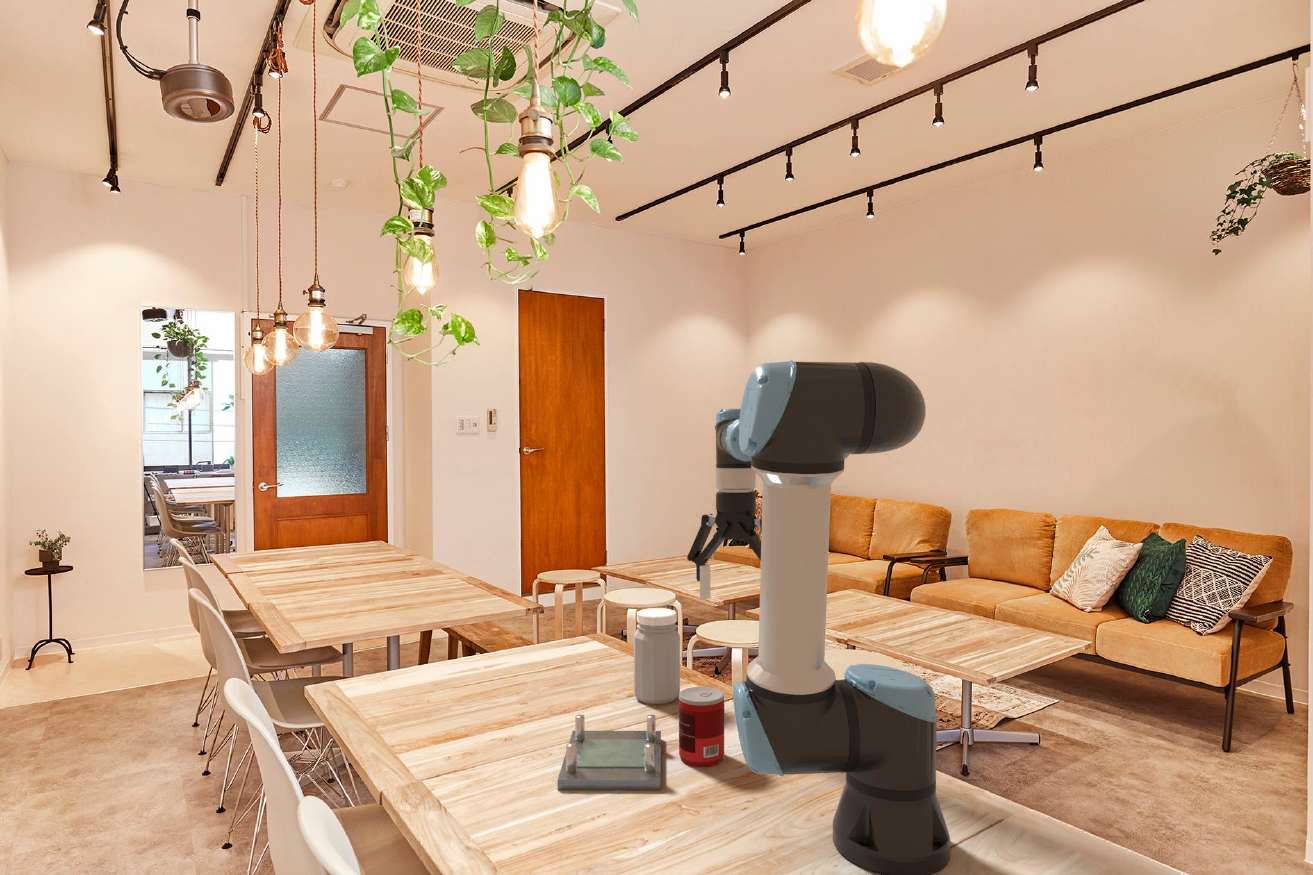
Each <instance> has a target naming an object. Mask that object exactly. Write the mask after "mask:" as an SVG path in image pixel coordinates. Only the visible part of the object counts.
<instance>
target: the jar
mask: <svg viewBox="0 0 1313 875" xmlns="http://www.w3.org/2000/svg"><path fill="white" fill-rule="evenodd" d="M677 614H678V613H677V612H676V610H673V609H670V608H664V607H649V608H643V609H640V610H638V611H636V622H637V623H638V624H637V625H636V627H637V628H636V630H635V632H634V633H633V694H634V696H635V698H636V699H637V700H638V701H639V702H641V703H643V704H649V705H666V704H669V703H673V702H674V701H675V700H676V699H677V698H679V693H680V692H681V661H680V660H681V636H680V634H679V632H678V631H677V630H676V629H677V628H678V626H677V624H676V623H677Z"/></svg>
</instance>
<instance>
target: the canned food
mask: <svg viewBox="0 0 1313 875" xmlns="http://www.w3.org/2000/svg"><path fill="white" fill-rule="evenodd" d="M678 755H679V758H680V760H681V761H682V763H684V764H685V765H689V766H692V767H697V768H699V767H700V768H705V767H706V768H707V767H711V766H715V765H716V766H717V765H718V764H719V763H721V762H722V761H723V759H724V755H725V694H724V691H722V690H720V689H718V688H715V687H710V686H693V687H687V688H685V689H682V690H680V693H679V695H678Z"/></svg>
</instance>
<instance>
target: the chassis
mask: <svg viewBox="0 0 1313 875" xmlns="http://www.w3.org/2000/svg"><path fill="white" fill-rule="evenodd" d="M574 717H575V720H574V721H575V730H572V732H571V736H570V739H569V743H567V744H566V745H565V747H566V748H565V749H566V750H565V754H564V758H563V761H562V763H561V767H560V770H559V773H558V774H559V775H558V777H557V790H559V791H560V790H561V791H562V790H563V791H564V790H565V791H566V790H567V791H573V790H574V791H575V790H576V791H584V790H585V791H586V790H587V791H593V790H595V791H596V790H598V791H616V790H617V791H661V769H662V768H661V767H662V766H661V765H662V764H661V759H662V758H661V756H662V730H657V728H656V727H657V725H656V724H657V716H656V715H655V714H647V715H646V730H585V715H584V714H576V715H575V716H574Z"/></svg>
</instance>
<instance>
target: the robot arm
mask: <svg viewBox="0 0 1313 875" xmlns="http://www.w3.org/2000/svg"><path fill="white" fill-rule="evenodd" d="M925 402H926V401H925V398H924V396H923V394H922V391H921V389H920V388H919V386H918V385H917V384H916V383H915V381H914V380H912V379H911V377H909V376H908V375H907V374H906V373H903V372H902V371H900V370H899V369H897V368H895V367H892V366H890V365H887V364H883V363H879V362H878V363H877V362H872V361H860V362H847V361H843V362H842V361H839V362H838V361H794V360H789V361H776V362H765V363H762V364H759V365H758V366H756V368H754V369H753V370H752V371H751V373H750V375H749V377H748V379H747V382H746V384H745V388H744V392H743V395H742V401H741V404H740V408H725V409H724V408H723V409H722V408H721V409H718V410H717V412H716V414H715V425H714V430H715V456H716V457H715V459H716V460H715V462H716V464H715V488H716V489H717V490H718V491H717V492H716V493H715V510H716V515H714V514H713V513H708V514H707V513H706V514H703V515H701V519H700V520H701V521H700V526H699V529H698V531H697V533H696V535H695V539H694V540H693V543H692V545H691V546H690V550H689V552H688V554H687V557H686V558H687V561H689V562H692V563H694V564H695V566H696V567H695V568H696V569H695V570H696V574H695V575H696V576H695V577H696V581H697V582H699V601H704V600H708V599H711V564H710V563H709V560H710V558H711V557H712V555H714V553H715V552H716V551H717V550H718V548H719V547H720V546H721V544H722V543H724V541H725V540H727V541H731V540H734V541H739V542H740V541H744V542H745V543H746V544H748V545H749V547H750V548H751V550H752V551H753V553H754V554H755V555H756V557H757V558H758V559H759V560H760V576H759V577H760V579H759V580H760V582H759V587H760V588H759V613H758V614H759V617H758V618H759V619H758V621H759V622H758V654H757V655H758V656H756V657H755V658H754V659H753V660H751V661H750V662H749V663H748V664H747V666H746V673H745V674H746V675H745V676H746V677H745V679H746V680H745V681H744V680H739V681H737V682H735V683H734V684H733V691H732V698H733V699H732V700H733V709H734V716H735V722H736V727H737V729H736V730H737V733H738V739H739V743H740V748H741V752H742V755H743V756H742V757H743V759H744V761H745V764H746V766H747V767H748V769H749V770H750V771H751V772H752V773H755V774H757V775H776V776H777V775H778V776H779V777H784V776H785V775H805V774H806V775H809V774H811V775H812V774H815V775H816V774H839V773H845V784H844V786H843V789H842V792H841V795H840V798H839V801H838V803H837V804H838V805H837V808H836V810H835V813H834V817H833V820H832V843H833V845H834V847H835V849H836V850H837V851H838V853H840V854H841V855H842V856H843V857H844V858H845V859H847V860H848V861H850V862H852V863H853V864H855V865H858V866H859V867H860V868H864V869H865V870H866V869H867V870H869V871H872V872H876V873H878V874H885V875H930V874H931V875H932V874H933V873H937V871H940V870H942V869H943V868H945V867H947V865H948V863H949V861H950V860H951V837H950V832H949V830H948V826H947V823H946V821H945V818H944V814H943V812H942V808H941V804H940V801H939V798H938V796H937V723H938V720H939V718H938V715H937V707H936V694H935V691H934V689H933V688H932V686H931V684H929V683H928V682H927V681H926V680H925V679H923V678H921V677H919V675H916V674H913V673H911V672H909V671H908V672H907V671H905V670H901V669H898V668H894V667H890V666H886V665H879V664H873V663H872V664H871V663H870V664H869V663H855V664H854V665H853V664H851V665H849V666H848V667H846V670H845V672H844V673H843V675H844V679H836V673H835V670H833V668H832V667H831V666H830V665H829V664H828V663H827V661H825V659H826V657H825V654H826V650H825V649H826V628H827V626H826V625H827V603H828V602H827V599H828V598H827V596H828V595H827V594H828V579H829V578H828V575H829V574H828V571H829V548H830V546H829V545H830V526H831V525H830V521H831V520H830V519H831V499H832V498H831V492H832V484H833V482H834V481H835V480H837V479H838V477H840V476H841V474H843V473H844V472H845V459H847V458H848V457H849V456H850V455H862V454H863V455H869V454H880V453H885V452H889V451H894V450H898V449H900V448H902V447H905V446H906V445H908V444H909V443H911V442H913V440H914V439H915V438H917V436H918V435H919V434H920V432H921V430H922V428H923V425H924V423H925V419H926V411H927V410H926V403H925ZM756 474H757V476H759V477H760V479H761V481H762V504H761V518H757V517H756V509H757V493H755V491H753V490H755V489H756V486H757V482H756V481H757V480H756ZM715 525H716V527H717V528H718V529H717V530H716V531H715V533H714V534H713V536H712V538H711V539H710V541H709V542H708V543H707V540H708V538H709V535H710V533H711V531H712V528H713V526H715ZM756 528H758V530H759V531H760V532H761V533H760V534H761V538H760V537H759V535H758V533H757V532H756V531H755V529H756ZM760 539H761V540H760ZM706 543H707V545H706ZM708 563H709V564H708Z"/></svg>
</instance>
